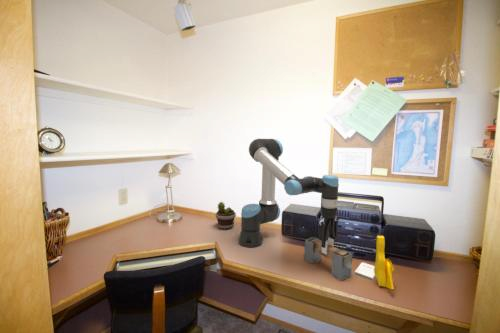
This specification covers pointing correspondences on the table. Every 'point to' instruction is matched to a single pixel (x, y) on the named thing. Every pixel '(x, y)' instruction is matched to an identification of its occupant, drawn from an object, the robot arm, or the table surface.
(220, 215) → the flowerpot
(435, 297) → the table surface
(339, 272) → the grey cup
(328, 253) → the rail
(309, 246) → the bracket left
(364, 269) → the external hard drive
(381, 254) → the figure statuette
